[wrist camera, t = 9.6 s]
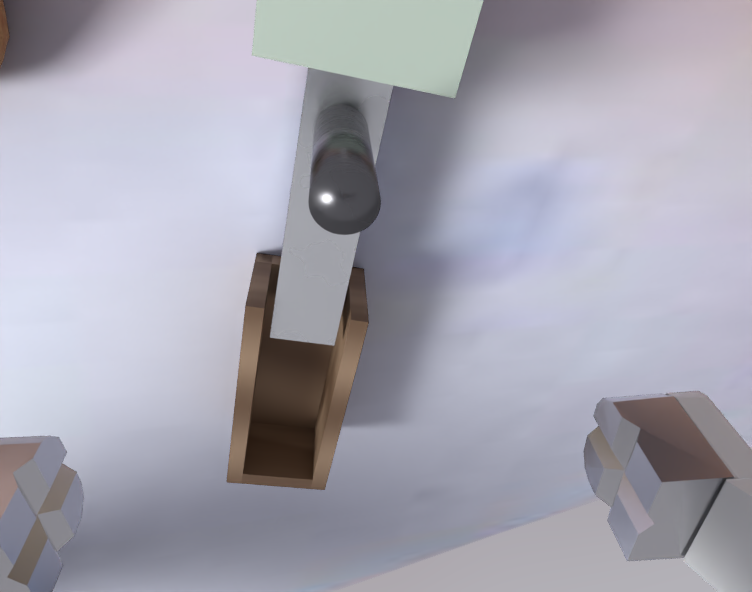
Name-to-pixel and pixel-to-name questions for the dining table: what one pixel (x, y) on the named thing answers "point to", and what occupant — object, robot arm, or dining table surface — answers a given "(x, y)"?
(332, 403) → the open wooden box
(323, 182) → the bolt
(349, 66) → the pale green block
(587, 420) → the dining table surface
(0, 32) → the bread roll
